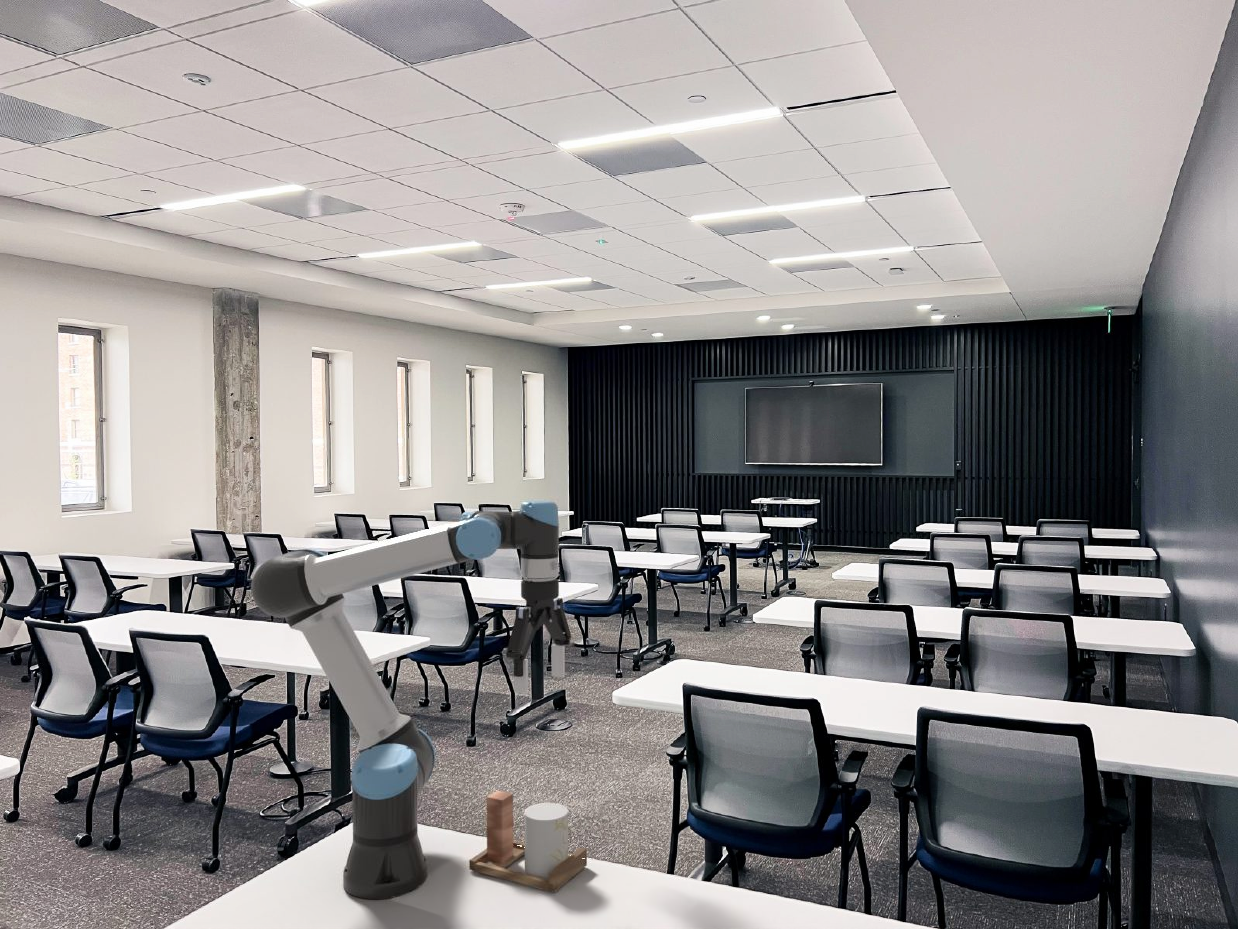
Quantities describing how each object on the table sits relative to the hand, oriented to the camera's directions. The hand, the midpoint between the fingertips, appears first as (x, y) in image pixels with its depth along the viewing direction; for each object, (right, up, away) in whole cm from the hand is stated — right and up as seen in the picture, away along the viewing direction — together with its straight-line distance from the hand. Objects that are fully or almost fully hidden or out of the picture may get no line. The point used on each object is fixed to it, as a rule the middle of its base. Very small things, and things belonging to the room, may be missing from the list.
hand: (540, 684), depth 179 cm
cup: (+2, -33, -11) cm, 35 cm away
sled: (-1, -33, -9) cm, 34 cm away
